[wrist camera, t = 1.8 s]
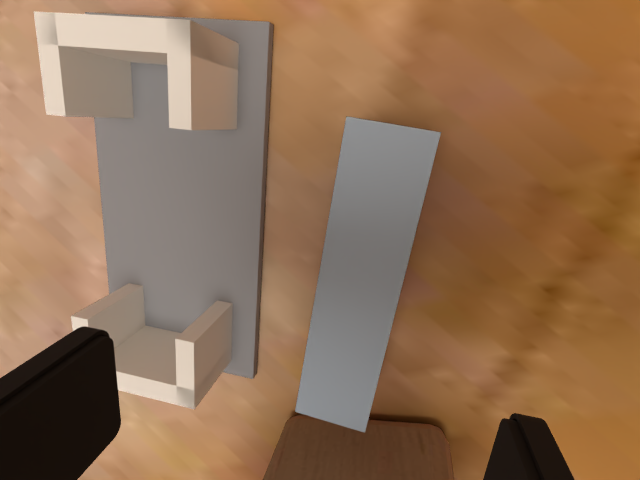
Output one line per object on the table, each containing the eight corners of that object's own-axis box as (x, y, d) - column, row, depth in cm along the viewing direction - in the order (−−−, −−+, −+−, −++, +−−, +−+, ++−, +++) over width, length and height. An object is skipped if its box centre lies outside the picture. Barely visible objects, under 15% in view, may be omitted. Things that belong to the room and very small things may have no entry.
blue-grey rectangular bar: (361, 118, 19) (346, 116, 14) (432, 130, 18) (440, 132, 14) (317, 354, 23) (295, 411, 19) (373, 369, 23) (364, 432, 18)
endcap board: (273, 25, 18) (227, -10, 14) (256, 373, 24) (220, 431, 20) (94, 15, 20) (-1, -18, 15) (120, 342, 26) (58, 389, 22)
